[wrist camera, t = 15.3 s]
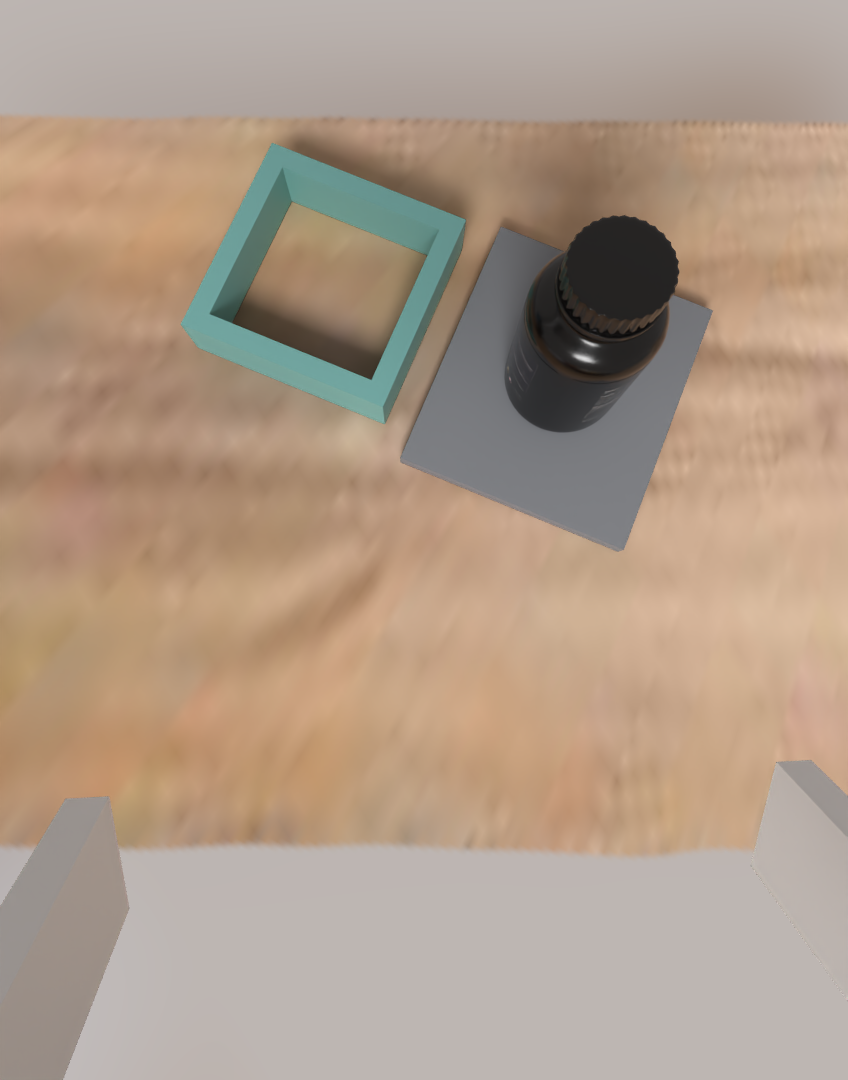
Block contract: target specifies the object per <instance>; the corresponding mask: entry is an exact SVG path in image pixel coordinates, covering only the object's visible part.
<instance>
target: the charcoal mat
mask: <svg viewBox="0 0 848 1080" xmlns="http://www.w3.org/2000/svg"><path fill="white" fill-rule="evenodd" d="M562 252H564V251H561V250H559V249H556V248H554V247H551V246H549V245H546V244H544V243H541V242H539V241H536V240H534V239H531V238H529V237H526V236H524V235H521V234H518V233H516V232H513V231H511V230H508V229H506V228H503V227H501V228H500V230H499V232H498V235H497V237H496V239H495V241H494V244H493V246H492V248H491V251H490V253H489V255H488V258H487V260H486V262H485V264H484V267H483V269H482V271H481V274H480V276H479V278H478V281H477V283H476V285H475V287H474V290H473V292H472V294H471V297H470V299H469V301H468V304H467V306H466V308H465V310H464V313H463V315H462V317H461V320H460V322H459V324H458V327H457V329H456V331H455V333H454V336H453V338H452V340H451V343H450V345H449V347H448V350H447V352H446V354H445V356H444V359H443V361H442V363H441V366H440V368H439V370H438V373H437V375H436V377H435V379H434V382H433V384H432V386H431V389H430V391H429V393H428V396H427V398H426V400H425V402H424V405H423V407H422V409H421V412H420V414H419V416H418V419H417V421H416V423H415V425H414V428H413V430H412V432H411V435H410V437H409V439H408V441H407V444H406V446H405V448H404V451H403V453H402V455H401V458H400V459H401V463H404V464H406V465H409V466H411V467H414V468H416V469H418V470H421V471H423V472H426V473H428V474H431V475H433V476H435V477H438V478H440V479H443V480H445V481H448V482H450V483H452V484H455V485H457V486H460V487H462V488H465V489H467V490H469V491H472V492H474V493H477V494H479V495H482V496H484V497H486V498H489V499H491V500H494V501H496V502H499V503H501V504H503V505H506V506H508V507H511V508H513V509H516V510H518V511H520V512H523V513H525V514H528V515H530V516H533V517H535V518H537V519H540V520H542V521H545V522H547V523H550V524H552V525H554V526H557V527H559V528H562V529H564V530H567V531H569V532H571V533H574V534H576V535H579V536H581V537H584V538H586V539H588V540H591V541H593V542H596V543H598V544H601V545H603V546H605V547H608V548H610V549H613V550H615V551H618V552H619V551H621V550H624V548H625V545H626V542H627V540H628V537H629V534H630V532H631V529H632V526H633V523H634V521H635V518H636V515H637V513H638V510H639V507H640V505H641V502H642V499H643V497H644V494H645V491H646V489H647V486H648V483H649V481H650V478H651V475H652V473H653V470H654V467H655V464H656V462H657V459H658V456H659V454H660V451H661V448H662V446H663V443H664V440H665V438H666V435H667V432H668V430H669V427H670V424H671V422H672V419H673V416H674V414H675V411H676V408H677V405H678V403H679V400H680V397H681V395H682V392H683V389H684V387H685V384H686V381H687V379H688V376H689V373H690V371H691V368H692V365H693V363H694V360H695V357H696V354H697V352H698V349H699V346H700V344H701V341H702V338H703V336H704V333H705V330H706V328H707V325H708V322H709V320H710V317H711V314H712V312H713V310H710V309H708V308H705V307H703V306H700V305H698V304H695V303H693V302H690V301H688V300H685V299H682V298H680V297H677V296H675V295H673V296H672V297H671V299H670V300H669V308H670V320H669V327H668V331H667V334H666V338H665V340H664V342H663V344H662V346H661V348H660V350H659V351H658V352H657V354H656V355H655V357H654V358H653V359H652V361H651V362H650V363H649V364H648V365H647V367H646V368H645V369H644V370H643V371H642V372H641V374H640V375H639V376H638V377H637V378H636V380H635V381H634V382H633V383H632V384H631V385H630V387H629V388H628V389H627V390H626V391H625V392H624V394H623V395H622V396H621V397H620V398H619V399H618V401H617V402H616V403H615V404H614V405H613V406H612V408H611V409H610V410H609V411H608V412H607V413H606V414H605V415H604V416H603V417H602V418H601V419H600V420H598V421H597V422H596V423H594V424H593V425H591V426H589V427H587V428H585V429H582V430H579V431H575V432H567V433H557V432H551V431H547V430H543V429H541V428H538V427H536V426H534V425H533V424H531V423H529V422H528V421H527V420H525V419H524V418H523V417H522V416H521V415H520V414H519V413H518V412H517V411H516V409H515V408H514V406H513V405H512V403H511V401H510V399H509V397H508V394H507V391H506V387H505V379H504V375H505V366H506V361H507V358H508V354H509V351H510V348H511V344H512V341H513V338H514V335H515V332H516V329H517V326H518V322H519V319H520V316H521V313H522V310H523V307H524V304H525V301H526V298H527V295H528V292H529V289H530V287H531V285H532V283H533V281H534V279H535V277H536V276H537V274H538V273H539V272H540V270H541V269H542V268H543V267H544V266H545V265H546V264H547V263H548V262H549V261H550V260H552V259H553V258H554V257H556V256H557V255H559V254H561V253H562Z"/></svg>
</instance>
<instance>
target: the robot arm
mask: <svg viewBox="0 0 848 1080" xmlns="http://www.w3.org/2000/svg"><path fill="white" fill-rule="evenodd" d="M751 867H752V868H753V870H755V872H756V874H757V875H758V877H759V878H760V879H761V881H762V882H763V884H764V885H765V886H766V888H767V889H768V891H769V892H770V893H771V895H772V896H773V897H774V899H775V900H776V902H777V903H778V904H779V906H780V907H781V909H782V910H783V912H784V913H785V914H786V916H787V917H788V919H789V920H790V921H791V923H792V924H793V926H794V927H795V928H796V930H797V931H798V932H799V934H800V935H801V937H802V938H803V939H804V941H805V942H806V943H807V945H808V946H809V948H810V949H811V951H812V952H813V954H814V955H815V956H816V958H817V959H818V960H819V962H820V963H821V965H822V966H823V967H824V969H825V970H826V971H827V973H828V974H829V976H830V977H831V979H832V980H833V981H834V983H835V984H836V986H837V987H838V988H839V990H840V991H841V993H842V994H843V995H844V997H845V998H846V999H847V1001H848V796H847V795H846V794H845V793H844V792H843V791H842V790H841V789H840V788H839V787H838V786H837V785H836V784H835V783H834V782H833V781H832V780H831V779H830V778H829V777H828V776H827V775H826V774H825V773H824V772H823V771H822V770H821V769H820V768H819V767H818V766H817V765H816V764H815V763H813V762H812V761H811V760H805V761H785V762H776V765H775V769H774V773H773V777H772V781H771V785H770V789H769V793H768V798H767V802H766V806H765V810H764V814H763V818H762V822H761V826H760V830H759V834H758V838H757V842H756V846H755V850H754V854H753V858H752V863H751ZM128 910H129V904H128V899H127V893H126V887H125V882H124V876H123V871H122V865H121V860H120V854H119V848H118V843H117V837H116V832H115V826H114V820H113V815H112V809H111V804H110V798H109V797H90V798H71V799H65V801H64V802H63V804H62V806H61V807H60V809H59V811H58V812H57V814H56V816H55V817H54V819H53V820H52V822H51V824H50V825H49V827H48V829H47V830H46V832H45V834H44V835H43V837H42V839H41V840H40V842H39V843H38V845H37V847H36V848H35V850H34V852H33V853H32V855H31V857H30V858H29V860H28V862H27V863H26V865H25V867H24V868H23V870H22V871H21V873H20V875H19V876H18V878H17V880H16V881H15V883H14V885H13V886H12V888H11V890H10V891H9V893H8V894H7V896H6V898H5V900H4V901H3V903H2V904H1V906H0V1080H63V1078H64V1075H65V1073H66V1070H67V1068H68V1065H69V1063H70V1060H71V1057H72V1055H73V1052H74V1050H75V1047H76V1045H77V1042H78V1039H79V1037H80V1034H81V1031H82V1029H83V1027H84V1024H85V1021H86V1019H87V1016H88V1014H89V1011H90V1008H91V1006H92V1003H93V1001H94V998H95V995H96V993H97V990H98V988H99V985H100V983H101V980H102V978H103V975H104V972H105V970H106V967H107V965H108V962H109V959H110V957H111V954H112V952H113V949H114V946H115V944H116V941H117V939H118V936H119V934H120V931H121V929H122V926H123V923H124V921H125V918H126V915H127V913H128Z"/></svg>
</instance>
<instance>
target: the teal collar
mask: <svg viewBox="0 0 848 1080" xmlns="http://www.w3.org/2000/svg"><path fill="white" fill-rule="evenodd" d="M291 202H295V203H297V204H300V205H302V206H305V207H307V208H310V209H312V210H315V211H317V212H320V213H322V214H325V215H327V216H330V217H332V218H335V219H337V220H340V221H342V222H345V223H347V224H350V225H352V226H355V227H357V228H360V229H363V230H365V231H368V232H370V233H373V234H375V235H378V236H380V237H383V238H385V239H388V240H390V241H393V242H395V243H398V244H400V245H403V246H405V247H408V248H410V249H413V250H415V251H418V252H420V253H423V254H425V255H428V256H427V258H426V260H425V262H424V265H423V267H422V269H421V271H420V274H419V276H418V278H417V280H416V282H415V285H414V287H413V289H412V291H411V294H410V296H409V298H408V300H407V302H406V305H405V307H404V309H403V311H402V314H401V316H400V318H399V320H398V322H397V325H396V327H395V329H394V331H393V334H392V336H391V338H390V340H389V342H388V345H387V347H386V349H385V351H384V353H383V356H382V358H381V360H380V362H379V365H378V367H377V369H376V371H375V373H374V376H373V378H372V380H370V379H367V378H365V377H362V376H360V375H358V374H355V373H353V372H350V371H348V370H345V369H343V368H340V367H338V366H336V365H333V364H331V363H328V362H326V361H323V360H321V359H318V358H316V357H313V356H311V355H309V354H306V353H304V352H301V351H299V350H296V349H294V348H291V347H289V346H286V345H284V344H282V343H279V342H277V341H274V340H272V339H269V338H267V337H264V336H262V335H260V334H257V333H255V332H252V331H250V330H247V329H245V328H242V327H240V326H237V325H235V324H233V323H232V322H233V320H234V318H235V316H236V314H237V312H238V310H239V308H240V306H241V304H242V302H243V299H244V297H245V295H246V293H247V291H248V289H249V287H250V285H251V283H252V281H253V279H254V277H255V275H256V273H257V271H258V269H259V267H260V265H261V263H262V261H263V259H264V257H265V255H266V253H267V251H268V249H269V247H270V245H271V243H272V240H273V238H274V236H275V234H276V232H277V230H278V228H279V226H280V224H281V222H282V220H283V218H284V216H285V214H286V212H287V210H288V208H289V206H290V204H291ZM465 224H466V220H465V219H463V218H460V217H458V216H455V215H453V214H450V213H448V212H445V211H443V210H440V209H438V208H435V207H433V206H430V205H428V204H425V203H423V202H420V201H418V200H415V199H412V198H410V197H407V196H405V195H402V194H400V193H397V192H395V191H392V190H390V189H387V188H385V187H382V186H380V185H377V184H375V183H372V182H370V181H367V180H365V179H362V178H360V177H357V176H355V175H352V174H349V173H347V172H344V171H342V170H339V169H337V168H334V167H332V166H329V165H327V164H324V163H322V162H319V161H317V160H314V159H312V158H309V157H307V156H304V155H302V154H299V153H297V152H294V151H291V150H289V149H286V148H284V147H281V146H279V145H276V144H274V143H272V144H271V146H270V148H269V150H268V152H267V154H266V156H265V158H264V160H263V162H262V164H261V166H260V168H259V170H258V172H257V174H256V176H255V178H254V180H253V182H252V184H251V186H250V188H249V190H248V192H247V194H246V196H245V198H244V200H243V202H242V204H241V206H240V208H239V210H238V212H237V214H236V216H235V218H234V220H233V222H232V224H231V226H230V228H229V230H228V232H227V234H226V235H225V237H224V239H223V241H222V243H221V245H220V247H219V249H218V251H217V253H216V255H215V257H214V259H213V261H212V263H211V265H210V267H209V269H208V271H207V273H206V275H205V277H204V279H203V281H202V283H201V285H200V287H199V289H198V291H197V293H196V295H195V297H194V299H193V301H192V303H191V305H190V307H189V309H188V311H187V313H186V315H185V317H184V319H183V321H182V323H181V326H182V327H183V328H184V330H185V331H186V332H187V333H188V335H189V336H190V337H191V339H192V340H193V341H194V343H195V344H196V345H197V347H198V348H200V349H202V350H205V351H207V352H210V353H212V354H215V355H217V356H220V357H222V358H224V359H227V360H229V361H232V362H234V363H237V364H239V365H241V366H244V367H246V368H249V369H251V370H254V371H256V372H259V373H261V374H263V375H266V376H268V377H271V378H273V379H276V380H278V381H281V382H283V383H285V384H288V385H290V386H293V387H295V388H298V389H300V390H302V391H305V392H307V393H310V394H312V395H315V396H317V397H320V398H322V399H324V400H327V401H329V402H332V403H334V404H337V405H339V406H341V407H344V408H346V409H349V410H351V411H354V412H356V413H359V414H361V415H363V416H366V417H368V418H371V419H373V420H376V421H378V422H380V423H383V424H385V423H386V421H387V418H388V416H389V414H390V412H391V409H392V407H393V405H394V402H395V400H396V398H397V396H398V393H399V391H400V389H401V387H402V384H403V382H404V380H405V378H406V375H407V373H408V371H409V369H410V366H411V364H412V362H413V359H414V357H415V355H416V353H417V350H418V348H419V346H420V344H421V341H422V339H423V337H424V335H425V332H426V330H427V328H428V326H429V323H430V321H431V319H432V317H433V314H434V312H435V310H436V307H437V305H438V303H439V301H440V298H441V296H442V294H443V292H444V289H445V287H446V285H447V283H448V280H449V278H450V276H451V274H452V271H453V269H454V267H455V265H456V262H457V260H458V258H459V255H460V253H461V251H462V246H463V238H464V231H465Z"/></svg>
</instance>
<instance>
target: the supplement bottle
mask: <svg viewBox="0 0 848 1080" xmlns="http://www.w3.org/2000/svg"><path fill="white" fill-rule="evenodd" d="M678 262H679V261H678V260H677V258H676V251H675V250H674V249H673V248H672V246H671V242H670V241H669V240H667V239H666V237H665V235H664V234H663V233H662V232H660V231H658V230H657V228H656V227H655V226H652V225H649V224H648V223H647V222H646V221H642V220H639V219H638V218H636V217H628V216H625V215H624V216H620V217H618V216H611V217H610V218H602V219H600V220H599V221H594V222H592V223H591V224H590V225H589V226H586V227H584V228H583V229H582V231H581V232H580V233H578V234H577V235H576V236H575V238H574V240H573V242H572V243H571V244H570V245H569V247H568V250H567V251H564V252H562V253H561V254H559V255H557V256H556V257H554V258H553V259H552V260H550V261H549V262H548V263H547V264H546V265H545V266H544V267H543V268H542V269H541V270H540V272H539V273H538V274H537V276H536V277H535V279H534V281H533V283H532V285H531V287H530V289H529V292H528V295H527V298H526V301H525V304H524V307H523V310H522V313H521V316H520V319H519V322H518V326H517V329H516V332H515V335H514V338H513V341H512V344H511V348H510V351H509V354H508V358H507V361H506V366H505V375H504V379H505V387H506V391H507V394H508V397H509V399H510V401H511V403H512V405H513V406H514V408H515V409H516V411H517V412H518V413H519V414H520V415H521V416H522V417H523V418H524V419H525V420H527V421H528V422H529V423H531V424H533V425H534V426H536V427H538V428H541V429H543V430H547V431H551V432H557V433H567V432H575V431H579V430H582V429H585V428H587V427H589V426H591V425H593V424H594V423H596V422H597V421H598V420H600V419H601V418H602V417H603V416H604V415H605V414H606V413H607V412H608V411H609V410H610V409H611V408H612V406H613V405H614V404H615V403H616V402H617V401H618V399H619V398H620V397H621V396H622V395H623V394H624V392H625V391H626V390H627V389H628V388H629V387H630V385H631V384H632V383H633V382H634V381H635V380H636V378H637V377H638V376H639V375H640V374H641V372H642V371H643V370H644V369H645V368H646V367H647V365H648V364H649V363H650V362H651V361H652V359H653V358H654V357H655V355H656V354H657V352H658V351H659V350H660V348H661V346H662V344H663V342H664V340H665V338H666V334H667V331H668V327H669V320H670V308H669V300H670V299H671V297H672V296H673V295H674V292H675V287H676V286H677V284H678V278H677V277H678V274H679V269H678Z"/></svg>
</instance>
